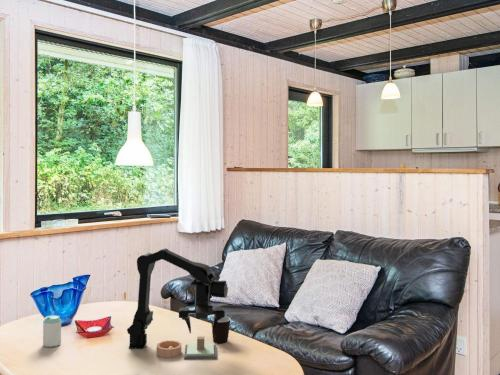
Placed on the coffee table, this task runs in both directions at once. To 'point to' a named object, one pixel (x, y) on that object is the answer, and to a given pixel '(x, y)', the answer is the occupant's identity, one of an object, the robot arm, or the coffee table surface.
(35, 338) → the coffee table surface
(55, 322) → the can
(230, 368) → the coffee table surface
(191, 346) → the lid
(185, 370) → the coffee table surface
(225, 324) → the coffee mug
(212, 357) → the mat
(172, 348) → the bowl
